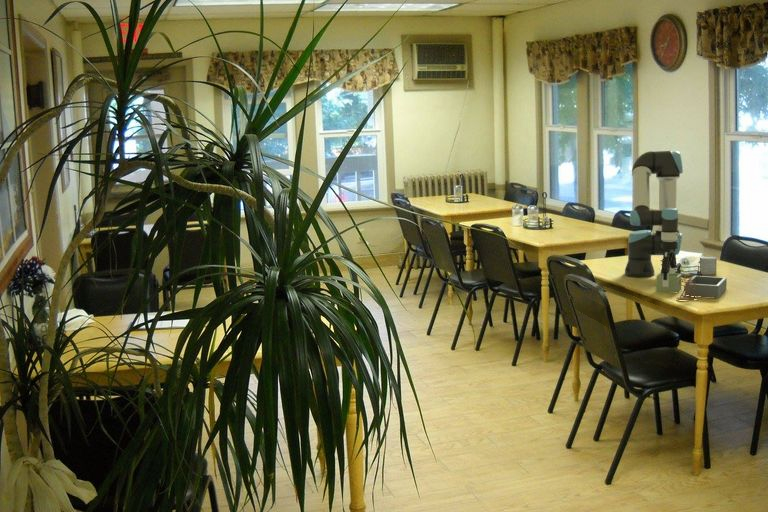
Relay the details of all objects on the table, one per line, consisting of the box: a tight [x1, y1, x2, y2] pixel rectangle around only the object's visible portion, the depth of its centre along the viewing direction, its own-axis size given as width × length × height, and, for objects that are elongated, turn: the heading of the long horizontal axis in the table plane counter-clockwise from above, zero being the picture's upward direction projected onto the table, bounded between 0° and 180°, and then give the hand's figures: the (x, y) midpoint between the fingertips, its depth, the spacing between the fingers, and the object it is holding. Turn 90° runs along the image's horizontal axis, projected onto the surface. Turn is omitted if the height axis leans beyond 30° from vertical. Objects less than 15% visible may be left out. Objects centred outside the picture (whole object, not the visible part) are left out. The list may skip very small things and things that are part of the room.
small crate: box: [655, 272, 683, 294], centre depth 432 cm, size 10×8×8 cm
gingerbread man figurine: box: [676, 273, 699, 301], centre depth 412 cm, size 9×4×12 cm, turn 95°
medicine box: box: [698, 256, 718, 276], centre depth 466 cm, size 8×4×9 cm, turn 84°
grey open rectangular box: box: [684, 275, 728, 299], centre depth 425 cm, size 15×20×6 cm
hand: (668, 284), depth 432 cm, fingers open, 13 cm apart
